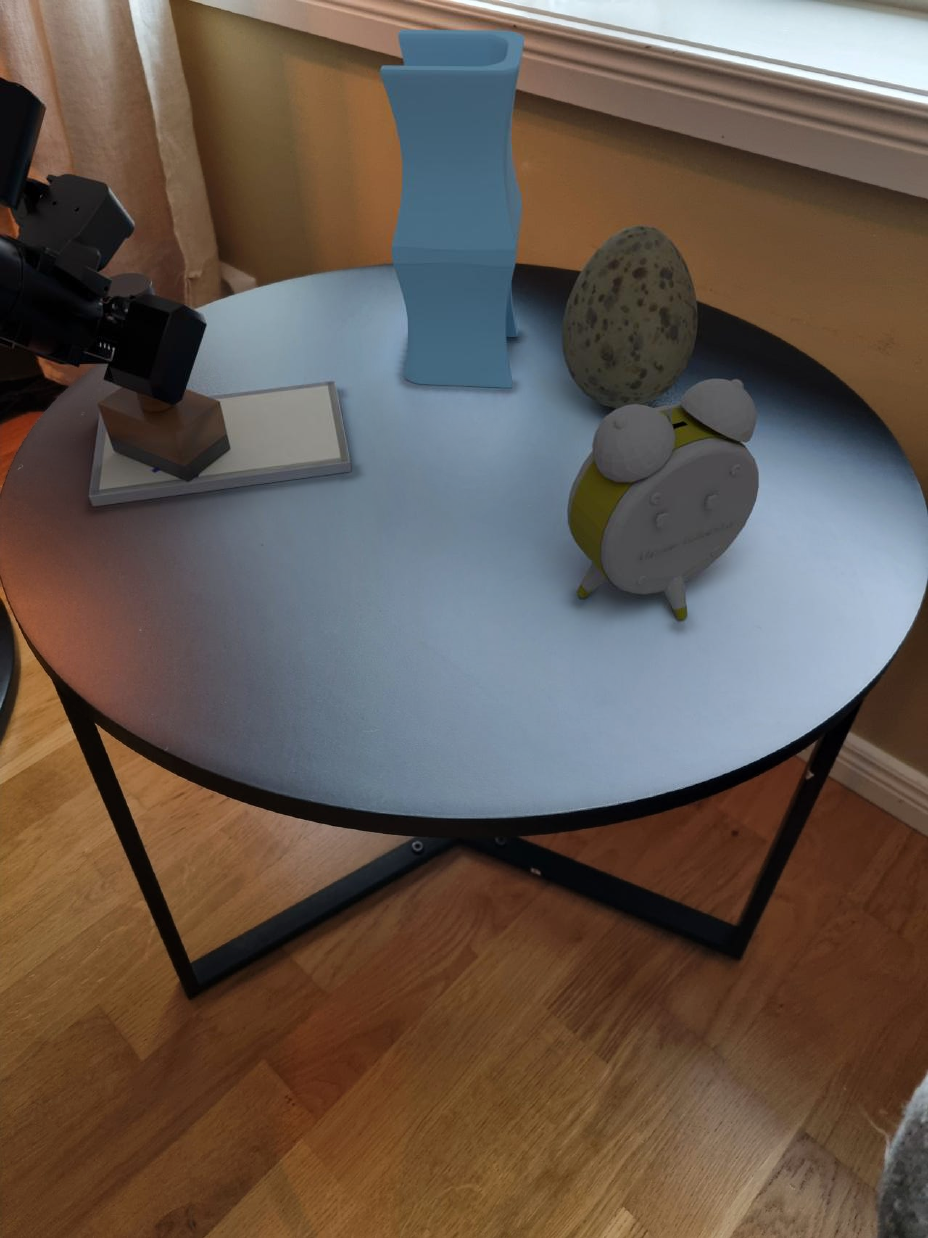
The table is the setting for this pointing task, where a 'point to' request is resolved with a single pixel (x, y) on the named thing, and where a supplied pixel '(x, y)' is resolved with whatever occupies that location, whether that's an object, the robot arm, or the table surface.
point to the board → (241, 447)
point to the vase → (457, 202)
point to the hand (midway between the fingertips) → (162, 360)
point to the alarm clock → (665, 490)
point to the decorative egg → (630, 319)
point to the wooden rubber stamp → (162, 416)
